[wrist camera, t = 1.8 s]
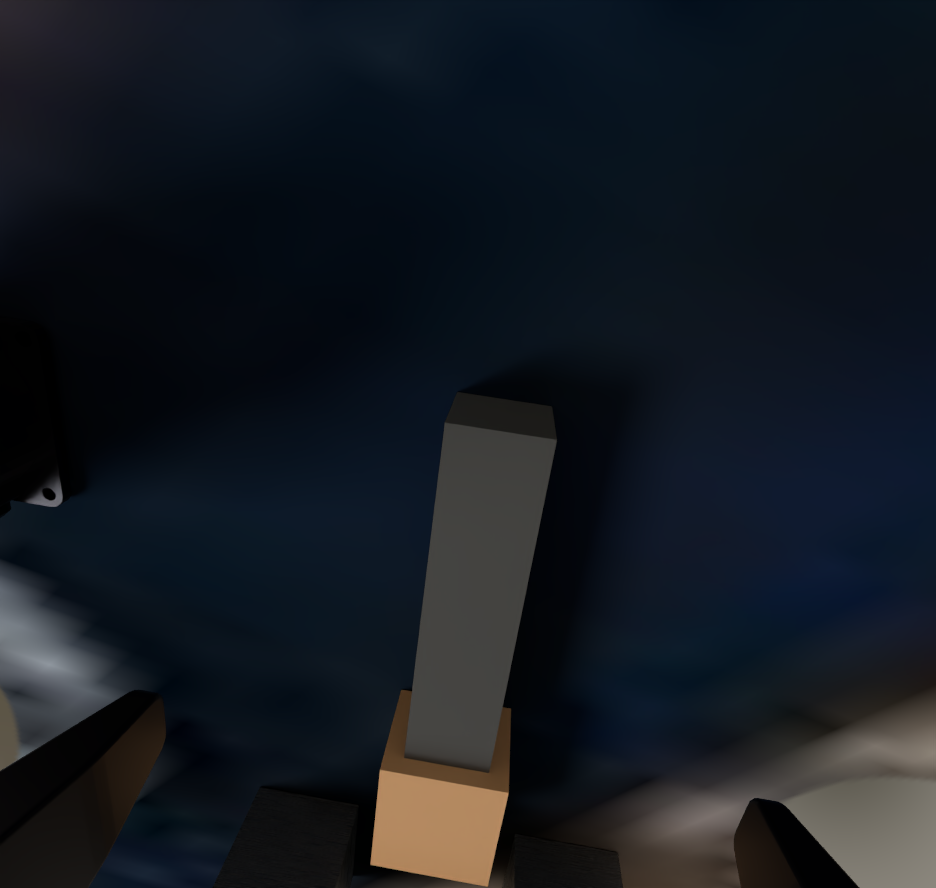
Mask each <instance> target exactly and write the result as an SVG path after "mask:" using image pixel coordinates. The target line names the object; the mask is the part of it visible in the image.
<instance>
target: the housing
mask: <svg viewBox="0 0 936 888" xmlns="http://www.w3.org/2000/svg"><path fill="white" fill-rule="evenodd" d="M358 808H359V805H355V804H350V803H344V802H339V801H333V800H328V799H322V798H317V797H311V796H306V795H300V794H295V793H290V792H284V791H279V790H273V789H268V788H262V787H260V788H259V790H258V792H257V794H256V797H255V799H254V801H253V803H252V805H251V807H250V809H249V811H248V814H247V816H246V818H245V820H244V822H243V824H242V826H241V828H240V831H239V833H238V835H237V837H236V839H235V841H234V843H233V845H232V848H231V850H230V852H229V854H228V856H227V858H226V860H225V862H224V865H223V867H222V869H221V871H220V873H219V875H218V877H217V879H216V882H215V884H214V886H213V888H350V885H351V881H352V878H353V867H354V856H355V844H356V832H357V820H358ZM502 888H623V885H622V879H621V872H620V865H619V858H618V853H617V852H611V851H606V850H600V849H595V848H590V847H584V846H579V845H573V844H568V843H562V842H557V841H551V840H546V839H540V838H535V837H530V836H524V835H519V834H515V837H514V841H513V845H512V849H511V853H510V858H509V862H508V866H507V870H506V874H505V878H504V882H503V887H502Z"/></svg>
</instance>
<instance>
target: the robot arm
mask: <svg viewBox="0 0 936 888" xmlns="http://www.w3.org/2000/svg"><path fill="white" fill-rule="evenodd" d="M26 333H27V334H28V335H29V336H30V338H31V343H30V342H29V341H28V340H27V337H26ZM51 489H52V490H53V491H54V492H55V494H54V493H53V492H52V490H51ZM70 496H71V488H70V481H69V474H68V467H67V461H66V454H65V447H64V440H63V433H62V427H61V420H60V413H59V406H58V400H57V393H56V386H55V379H54V372H53V366H52V359H51V352H50V345H49V339H48V336H47V333H46V332H45V330H44V329H43V328H42V327H41V326H40V325H39V324H37V323H35V322H32V321H26V320H19V319H13V318H6V317H0V517H2V516H4V515H5V514H6V513H7V512H8V511H10V510H11V505H10V501H11V500H14V501H20V502H26V503H32V504H38V505H44V506H50V507H56V506H58V505H60V504H62V503H63V502H65V501H67V500H68V499H69V498H70ZM165 737H166V724H165V713H164V702H163V698H162V696H161V695H160V694H158V693H155V692H149V691H143V690H134V691H131V692H129V693H127V694H125V695H124V696H122V697H120V698H119V699H117V700H116V701H114V702H112V703H111V704H109V705H107V706H106V707H104V708H102V709H101V710H99V711H98V712H96V713H94V714H93V715H91V716H89V717H88V718H86V719H84V720H83V721H81V722H79V723H78V724H76V725H75V726H73V727H71V728H70V729H68V730H66V731H65V732H63V733H61V734H60V735H58V736H57V737H55V738H53V739H52V740H50V741H48V742H47V743H45V744H43V745H42V746H40V747H39V748H37V749H35V750H34V751H32V752H30V753H29V754H27V755H25V756H24V757H22V758H21V759H19V760H17V761H16V762H14V763H12V764H11V765H9V766H7V767H6V768H4V769H2V770H1V771H0V888H88V887H89V886H90V884H91V882H92V881H93V879H94V877H95V876H96V874H97V873H98V871H99V869H100V867H101V866H102V864H103V862H104V861H105V859H106V857H107V856H108V854H109V852H110V850H111V848H112V846H113V844H114V842H115V840H116V839H117V837H118V835H119V833H120V831H121V829H122V827H123V825H124V823H125V821H126V819H127V817H128V815H129V813H130V811H131V809H132V807H133V805H134V803H135V801H136V799H137V797H138V795H139V793H140V791H141V789H142V787H143V785H144V783H145V781H146V779H147V777H148V775H149V773H150V771H151V769H152V767H153V765H154V763H155V761H156V759H157V757H158V755H159V753H160V751H161V749H162V747H163V744H164V741H165ZM734 851H735V857H736V862H737V868H738V873H739V878H740V884H741V888H859V887H858V886H857V885H856V883H855V882H854V881H853V880H852V879H851V878H850V877H849V876H848V875H847V873H846V872H845V871H844V870H843V869H842V868H841V867H840V866H839V865H838V864H837V862H836V861H835V860H834V859H833V858H832V857H831V856H830V855H829V854H828V852H827V851H826V850H825V849H824V848H823V847H822V846H821V845H820V844H819V842H818V841H817V840H815V838H814V837H813V836H812V835H811V834H810V833H809V831H808V830H807V829H806V828H805V827H804V826H803V825H802V824H801V823H800V821H799V820H798V819H797V818H796V817H795V816H794V815H793V814H792V813H791V811H790V810H789V809H788V808H787V807H786V806H784V805H783V804H782V803H780V802H776V801H771V800H765V799H760V798H754V799H753V800H751V801H750V802H749V804H748V806H747V808H746V810H745V813H744V815H743V817H742V819H741V821H740V823H739V826H738V828H737V830H736V833H735V837H734Z"/></svg>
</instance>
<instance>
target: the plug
mask: <svg viewBox="0 0 936 888" xmlns="http://www.w3.org/2000/svg"><path fill="white" fill-rule="evenodd" d="M556 442H557V437H556V430H555V423H554V417H553V410H552V406H546V405H539V404H533V403H526V402H520V401H513V400H507V399H500V398H494V397H487V396H480V395H474V394H467V393H461V392H457V394H456V396H455V399H454V401H453V404H452V406H451V409H450V411H449V414H448V416H447V419H446V421H445V426H444V434H443V443H442V451H441V459H440V467H439V475H438V483H437V492H436V500H435V508H434V516H433V524H432V533H431V541H430V549H429V557H428V565H427V573H426V582H425V590H424V598H423V606H422V614H421V622H420V631H419V639H418V647H417V655H416V663H415V671H414V680H413V688H412V691H407V690H401V693H400V697H399V700H398V704H397V708H396V712H395V715H394V719H393V723H392V727H391V730H390V734H389V738H388V742H387V746H386V749H385V753H384V757H383V761H382V764H381V768H380V775H379V785H378V795H377V805H376V815H375V825H374V834H373V844H372V854H371V864H370V865H374V866H379V867H385V868H390V869H395V870H401V871H406V872H411V873H417V874H422V875H427V876H433V877H438V878H443V879H449V880H454V881H459V882H465V883H470V884H476V885H481V886H486V887H488V882H489V878H490V874H491V869H492V865H493V860H494V856H495V851H496V847H497V843H498V838H499V834H500V829H501V825H502V820H503V816H504V812H505V807H506V803H507V798H508V794H509V765H510V729H511V709H510V708H504V707H503V703H504V698H505V693H506V688H507V683H508V678H509V673H510V668H511V663H512V658H513V653H514V649H515V644H516V639H517V634H518V629H519V624H520V619H521V614H522V609H523V604H524V599H525V595H526V590H527V585H528V580H529V575H530V570H531V565H532V560H533V555H534V550H535V545H536V541H537V536H538V531H539V526H540V521H541V516H542V511H543V506H544V501H545V496H546V491H547V487H548V482H549V477H550V472H551V467H552V462H553V457H554V452H555V447H556Z"/></svg>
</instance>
